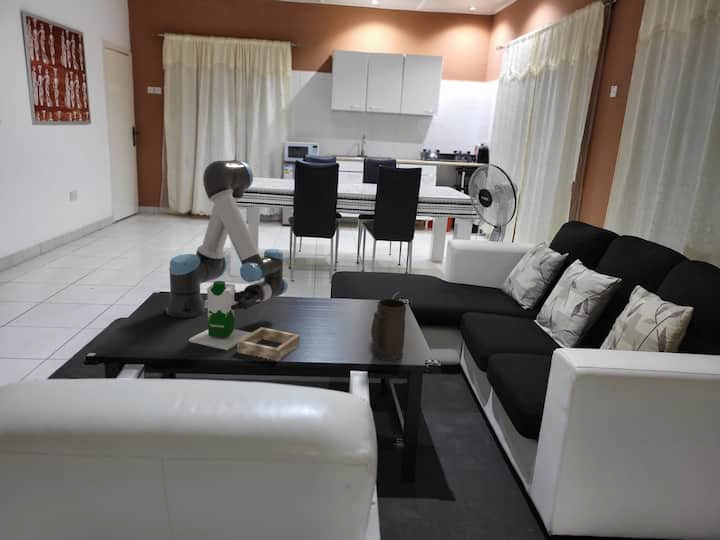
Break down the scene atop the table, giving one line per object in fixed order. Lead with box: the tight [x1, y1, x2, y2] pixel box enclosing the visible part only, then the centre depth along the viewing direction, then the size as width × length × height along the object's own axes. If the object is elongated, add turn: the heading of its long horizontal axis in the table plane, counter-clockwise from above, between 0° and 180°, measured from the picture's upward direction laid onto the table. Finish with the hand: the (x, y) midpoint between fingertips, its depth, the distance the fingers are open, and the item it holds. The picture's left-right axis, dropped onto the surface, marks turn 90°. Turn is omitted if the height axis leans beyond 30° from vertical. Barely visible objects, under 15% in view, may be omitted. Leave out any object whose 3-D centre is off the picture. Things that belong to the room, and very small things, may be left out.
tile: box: [188, 328, 252, 351], centre depth 192 cm, size 16×16×1 cm
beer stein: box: [370, 298, 407, 361], centre depth 183 cm, size 15×11×20 cm
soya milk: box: [206, 280, 236, 338], centre depth 189 cm, size 9×9×20 cm
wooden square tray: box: [236, 326, 301, 362], centre depth 185 cm, size 16×16×4 cm
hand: (214, 306), depth 186 cm, fingers closed on soya milk, 8 cm apart
